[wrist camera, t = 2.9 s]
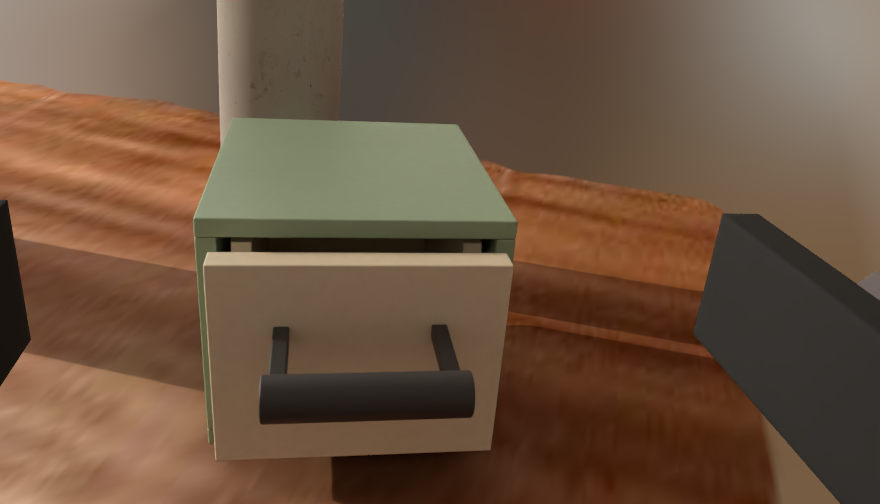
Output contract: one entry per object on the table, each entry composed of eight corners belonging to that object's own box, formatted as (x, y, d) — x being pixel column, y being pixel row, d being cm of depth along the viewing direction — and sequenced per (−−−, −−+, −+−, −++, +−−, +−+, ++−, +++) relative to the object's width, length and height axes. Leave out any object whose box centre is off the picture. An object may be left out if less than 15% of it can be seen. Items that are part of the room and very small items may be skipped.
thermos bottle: (198, 225, 53) (179, -240, 42) (273, 196, 60) (275, -214, 48) (286, 257, 50) (292, -238, 38) (356, 222, 57) (379, -211, 45)
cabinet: (491, 434, 35) (518, 221, 30) (208, 444, 33) (192, 218, 28) (444, 287, 48) (457, 124, 43) (239, 288, 46) (231, 117, 41)
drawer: (518, 539, 28) (550, 333, 24) (197, 559, 26) (179, 339, 22) (443, 300, 44) (455, 156, 41) (244, 301, 43) (238, 151, 39)
